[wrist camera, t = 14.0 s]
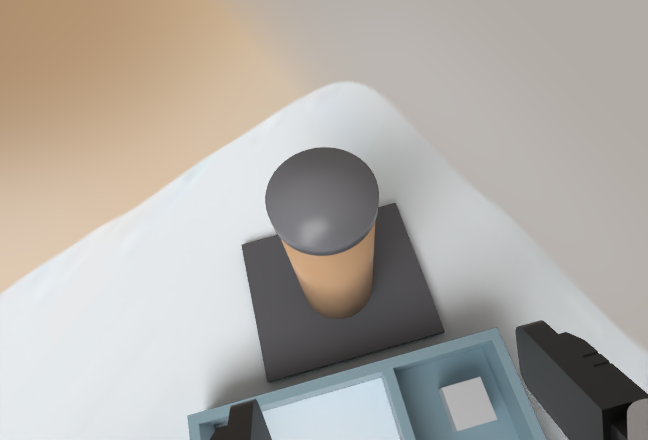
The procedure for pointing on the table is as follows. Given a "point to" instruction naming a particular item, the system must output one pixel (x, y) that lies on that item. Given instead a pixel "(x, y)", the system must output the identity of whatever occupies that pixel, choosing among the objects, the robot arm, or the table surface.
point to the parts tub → (426, 393)
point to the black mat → (348, 333)
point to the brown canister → (327, 226)
